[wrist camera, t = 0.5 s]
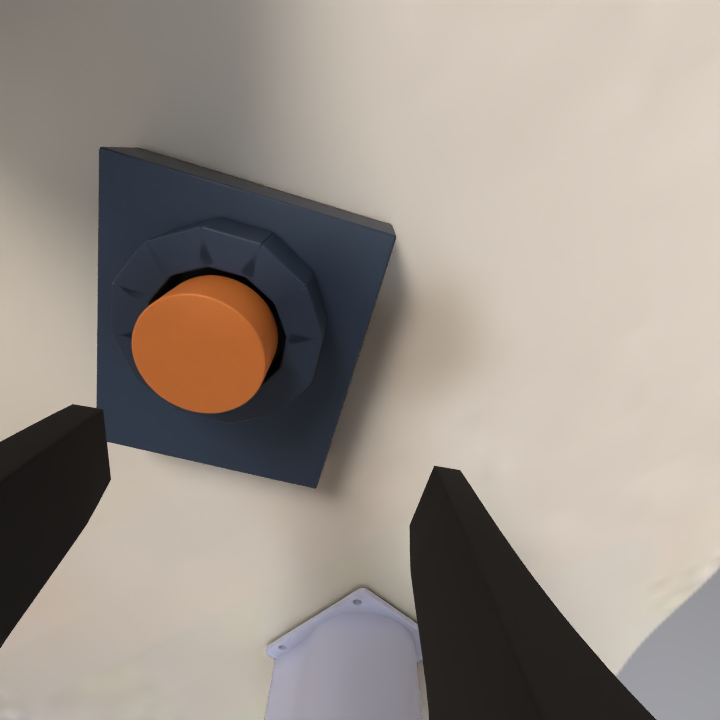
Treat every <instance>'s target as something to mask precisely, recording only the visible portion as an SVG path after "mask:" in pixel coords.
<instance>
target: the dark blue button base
mask: <svg viewBox="0 0 720 720" xmlns="http://www.w3.org/2000/svg"><path fill="white" fill-rule="evenodd" d="M395 240H396V235H395V232H394V229H393V226H392V225H391V224H388V223H384V222H381V221H378V220H374V219H371V218H368V217H365V216H361V215H358V214H355V213H351V212H348V211H345V210H342V209H338V208H335V207H332V206H328V205H325V204H322V203H318V202H315V201H312V200H309V199H305V198H302V197H299V196H295V195H292V194H289V193H285V192H282V191H279V190H276V189H272V188H269V187H266V186H262V185H259V184H256V183H253V182H249V181H246V180H243V179H239V178H236V177H233V176H229V175H226V174H223V173H220V172H216V171H213V170H210V169H206V168H203V167H200V166H197V165H193V164H190V163H187V162H183V161H180V160H177V159H173V158H170V157H167V156H164V155H160V154H157V153H154V152H150V151H147V150H144V149H141V148H130V147H100V149H99V228H98V328H97V408H98V409H103V412H104V421H105V430H106V439H107V442H111V443H115V444H120V445H124V446H129V447H133V448H138V449H142V450H146V451H151V452H155V453H160V454H164V455H168V456H173V457H177V458H182V459H186V460H191V461H195V462H199V463H204V464H208V465H213V466H217V467H222V468H226V469H230V470H235V471H239V472H244V473H248V474H253V475H257V476H261V477H266V478H270V479H275V480H279V481H284V482H288V483H292V484H297V485H301V486H306V487H310V488H314V489H315V488H317V485H318V482H319V479H320V476H321V473H322V470H323V466H324V463H325V460H326V457H327V454H328V451H329V447H330V444H331V441H332V438H333V435H334V432H335V429H336V425H337V422H338V419H339V416H340V413H341V410H342V407H343V403H344V400H345V397H346V394H347V391H348V388H349V385H350V381H351V378H352V375H353V372H354V369H355V366H356V363H357V359H358V356H359V353H360V350H361V347H362V344H363V341H364V337H365V334H366V331H367V328H368V325H369V322H370V319H371V315H372V312H373V309H374V306H375V303H376V300H377V297H378V293H379V290H380V287H381V284H382V281H383V278H384V274H385V271H386V268H387V265H388V262H389V259H390V256H391V252H392V249H393V246H394V243H395ZM202 275H218V276H224V277H228V278H231V279H234V280H237V281H239V282H241V283H243V284H245V285H246V286H248V287H250V288H251V289H252V290H254V291H255V292H256V293H257V294H258V295H259V296H260V297H261V298H262V299H263V300H264V301H265V303H266V304H267V305H268V307H269V308H270V310H271V312H272V314H273V316H274V318H275V321H276V325H277V329H278V346H277V350H276V353H275V356H274V358H273V360H272V362H271V365H270V367H269V369H268V371H267V373H266V376H265V378H264V380H263V382H262V384H261V386H260V388H259V390H258V391H257V393H256V394H255V395H254V396H253V397H252V398H251V399H250V400H249V401H247V402H246V403H245V404H243V405H241V406H240V407H238V408H235V409H233V410H230V411H226V412H221V413H198V412H193V411H189V410H186V409H183V408H180V407H178V406H176V405H174V404H172V403H170V402H168V401H167V400H165V399H164V398H162V397H161V396H160V395H158V394H157V393H156V392H155V391H154V390H153V389H152V388H151V387H150V386H149V385H148V384H147V383H146V381H145V380H144V379H143V377H142V376H141V374H140V372H139V370H138V368H137V366H136V364H135V361H134V358H133V353H132V334H133V330H134V326H135V324H136V322H137V320H138V318H139V316H140V315H141V313H142V312H143V311H144V310H145V309H146V308H147V307H148V306H149V305H151V304H152V303H153V302H155V301H156V300H158V299H159V298H160V297H162V296H163V295H165V294H166V293H168V292H169V291H170V290H172V289H173V288H175V287H176V286H178V285H179V284H180V283H182V282H184V281H186V280H188V279H190V278H193V277H197V276H202Z"/></svg>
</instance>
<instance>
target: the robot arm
mask: <svg viewBox="0 0 720 720" xmlns="http://www.w3.org/2000/svg"><path fill="white" fill-rule="evenodd" d="M110 480H111V476H110V467H109V458H108V449H107V439H106V430H105V421H104V412H103V409H98V408H92V407H86V406H80V405H74V404H73V405H71V406H68V407H66V408H64V409H62V410H60V411H58V412H56V413H54V414H52V415H50V416H48V417H46V418H45V419H43V420H41V421H39V422H37V423H35V424H33V425H31V426H29V427H27V428H26V429H24V430H22V431H20V432H18V433H16V434H14V435H12V436H10V437H8V438H7V439H5V440H3V441H1V442H0V648H1V646H2V645H3V643H4V642H5V640H6V639H7V637H8V636H9V634H10V633H11V631H12V630H13V629H14V627H15V626H16V624H17V623H18V622H19V620H20V619H21V617H22V616H23V614H24V613H25V612H26V610H27V609H28V607H29V606H30V605H31V603H32V602H33V600H34V599H35V597H36V596H37V595H38V593H39V592H40V590H41V589H42V588H43V586H44V585H45V583H46V582H47V581H48V579H49V578H50V576H51V575H52V573H53V572H54V571H55V569H56V568H57V566H58V565H59V564H60V562H61V561H62V559H63V558H64V556H65V555H66V554H67V552H68V551H69V549H70V548H71V546H72V545H73V543H74V542H75V541H76V539H77V538H78V536H79V535H80V533H81V532H82V530H83V529H84V528H85V526H86V525H87V523H88V521H89V519H90V517H91V516H92V514H93V512H94V510H95V508H96V507H97V505H98V503H99V501H100V499H101V497H102V495H103V493H104V491H105V490H106V488H107V486H108V484H109V482H110ZM410 567H411V578H412V586H413V593H414V601H415V608H416V616H417V623H418V624H417V623H415V622H414V621H412V620H411V619H410V618H408V617H407V616H405V615H404V614H402V613H401V612H400V611H398V610H397V609H395V608H394V607H392V606H391V605H390V604H388V603H387V602H385V601H384V600H382V599H381V598H380V597H378V596H377V595H375V594H374V593H372V592H371V591H370V590H368V589H366V588H360V589H357V590H356V591H354V592H353V593H351V594H349V595H348V596H346V597H345V598H343V599H341V600H340V601H338V602H337V603H335V604H333V605H332V606H330V607H328V608H327V609H325V610H324V611H322V612H320V613H319V614H317V615H316V616H314V617H312V618H311V619H309V620H308V621H306V622H304V623H303V624H301V625H300V626H298V627H296V628H295V629H293V630H291V631H290V632H288V633H287V634H285V635H283V636H282V637H280V638H279V639H277V640H275V641H274V642H272V643H271V644H269V645H268V646H267V648H266V654H267V655H268V656H269V657H271V658H273V659H275V662H274V668H273V673H272V679H271V684H270V690H269V695H268V701H267V706H266V712H265V718H264V720H422V710H421V700H420V690H419V680H418V670H417V662H419V661H421V660H423V666H424V674H425V681H426V690H427V699H428V709H429V720H656V719H655V718H654V717H653V716H652V715H651V714H650V713H649V712H648V711H647V710H646V709H645V707H644V706H643V705H642V704H641V703H640V702H639V701H638V700H637V699H636V698H635V697H634V696H633V695H632V694H631V693H630V692H629V691H628V690H627V688H626V687H625V686H624V685H623V684H622V683H621V682H620V681H619V680H618V679H617V678H616V676H615V675H614V674H613V673H612V672H611V671H610V670H609V669H608V668H607V666H606V665H605V664H604V663H603V662H602V661H601V660H600V658H599V657H598V656H597V655H596V654H595V653H594V651H593V650H592V649H591V648H590V647H589V646H588V645H587V643H586V642H585V641H584V640H583V639H582V638H581V636H580V635H579V634H578V633H577V632H576V631H575V629H574V628H573V627H572V626H571V625H570V623H569V622H568V621H567V620H566V618H565V617H564V616H563V615H562V614H561V612H560V611H559V610H558V608H557V607H556V606H555V605H554V603H553V602H552V601H551V599H550V598H549V597H548V596H547V594H546V593H545V592H544V590H543V589H542V588H541V587H540V585H539V584H538V583H537V581H536V580H535V579H534V577H533V576H532V575H531V573H530V572H529V571H528V569H527V568H526V566H525V565H524V564H523V562H522V561H521V560H520V558H519V557H518V555H517V554H516V553H515V551H514V550H513V548H512V547H511V545H510V544H509V543H508V541H507V540H506V538H505V537H504V535H503V534H502V532H501V531H500V530H499V528H498V527H497V525H496V524H495V522H494V521H493V519H492V518H491V516H490V515H489V513H488V512H487V510H486V509H485V507H484V506H483V504H482V503H481V501H480V500H479V498H478V496H477V495H476V493H475V492H474V490H473V489H472V487H471V486H470V484H469V483H468V481H467V480H466V478H465V477H464V475H463V474H462V472H461V471H460V470H456V469H450V468H444V467H438V466H434V468H433V470H432V473H431V475H430V477H429V480H428V482H427V485H426V487H425V490H424V492H423V494H422V497H421V499H420V502H419V504H418V507H417V509H416V511H415V514H414V516H413V519H412V521H411V524H410Z"/></svg>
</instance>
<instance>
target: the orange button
mask: <svg viewBox="0 0 720 720" xmlns="http://www.w3.org/2000/svg"><path fill="white" fill-rule="evenodd" d="M277 346H278V329H277V325H276V321H275V318H274V316H273V314H272V312H271V310H270V308H269V307H268V305H267V304H266V303H265V301H264V300H263V299H262V298H261V297H260V296H259V295H258V294H257V293H256V292H255V291H254V290H252V289H251V288H250V287H248V286H246V285H245V284H243V283H241V282H239V281H237V280H234V279H231V278H228V277H224V276H218V275H202V276H197V277H193V278H190V279H188V280H186V281H184V282H182V283H180V284H179V285H178V286H176V287H175V288H173V289H172V290H170V291H169V292H168V293H166V294H165V295H163V296H162V297H160V298H159V299H158V300H156V301H155V302H153V303H152V304H151V305H149V306H148V307H147V308H146V309H145V310H144V311H143V312H142V313H141V315H140V316H139V318H138V320H137V322H136V324H135V326H134V330H133V334H132V353H133V358H134V361H135V364H136V366H137V368H138V370H139V372H140V374H141V376H142V377H143V379H144V380H145V381H146V383H147V384H148V385H149V386H150V387H151V388H152V389H153V390H154V391H155V392H156V393H157V394H158V395H160V396H161V397H162V398H164V399H165V400H167V401H168V402H170V403H172V404H174V405H176V406H178V407H180V408H183V409H186V410H189V411H193V412H198V413H221V412H226V411H230V410H233V409H235V408H238V407H240V406H241V405H243V404H245V403H246V402H247V401H249V400H250V399H251V398H252V397H253V396H254V395H255V394H256V393H257V391H258V390H259V388H260V386H261V384H262V382H263V380H264V378H265V376H266V373H267V371H268V369H269V367H270V365H271V362H272V360H273V358H274V356H275V353H276V350H277Z"/></svg>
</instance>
